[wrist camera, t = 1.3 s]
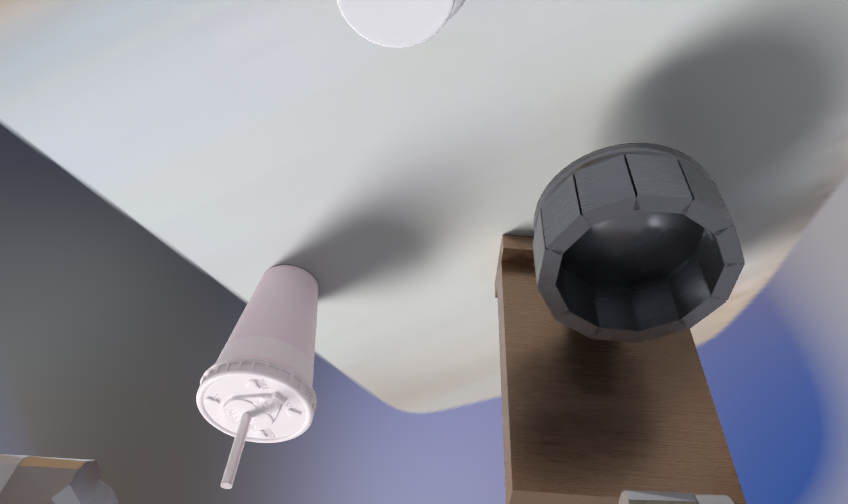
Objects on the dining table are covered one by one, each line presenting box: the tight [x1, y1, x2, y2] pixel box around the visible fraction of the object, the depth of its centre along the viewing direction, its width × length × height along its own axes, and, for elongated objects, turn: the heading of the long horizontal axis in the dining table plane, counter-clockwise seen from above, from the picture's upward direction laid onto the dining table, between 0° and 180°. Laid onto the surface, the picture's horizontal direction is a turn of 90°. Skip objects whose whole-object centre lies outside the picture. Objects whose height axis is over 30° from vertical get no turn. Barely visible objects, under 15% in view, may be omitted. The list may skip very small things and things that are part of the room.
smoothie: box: [196, 265, 319, 489], centre depth 40 cm, size 6×6×14 cm
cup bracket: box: [495, 143, 746, 504], centre depth 33 cm, size 14×10×16 cm
